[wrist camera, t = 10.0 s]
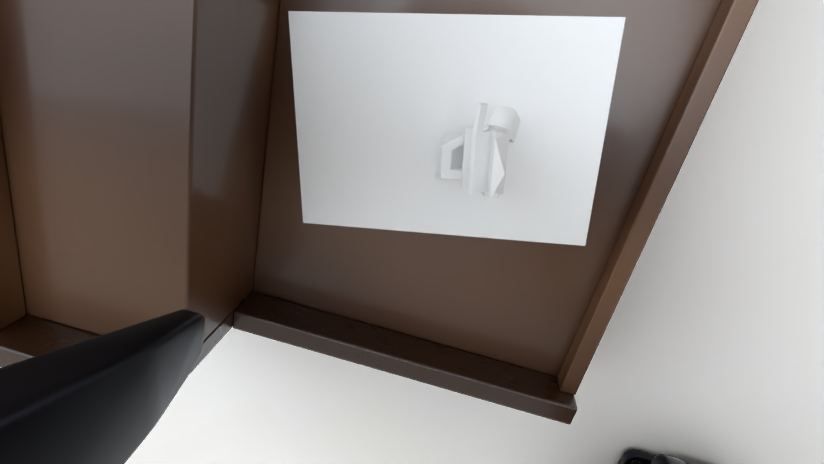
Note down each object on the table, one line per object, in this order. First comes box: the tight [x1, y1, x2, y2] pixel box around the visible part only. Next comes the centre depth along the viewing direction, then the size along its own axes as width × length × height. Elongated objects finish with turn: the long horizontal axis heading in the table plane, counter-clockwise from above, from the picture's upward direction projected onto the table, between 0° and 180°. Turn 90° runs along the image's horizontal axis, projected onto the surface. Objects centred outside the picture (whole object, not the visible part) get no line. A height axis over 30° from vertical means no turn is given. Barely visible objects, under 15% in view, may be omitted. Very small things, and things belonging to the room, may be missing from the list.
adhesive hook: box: [433, 102, 522, 202], centre depth 14 cm, size 3×3×3 cm
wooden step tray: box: [0, 0, 759, 424], centre depth 14 cm, size 18×19×9 cm
